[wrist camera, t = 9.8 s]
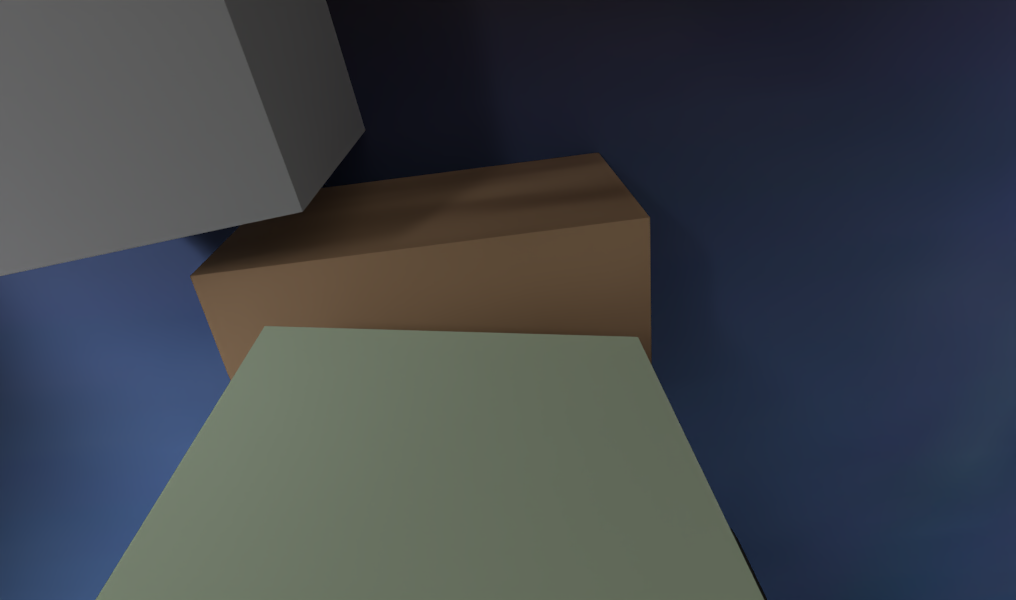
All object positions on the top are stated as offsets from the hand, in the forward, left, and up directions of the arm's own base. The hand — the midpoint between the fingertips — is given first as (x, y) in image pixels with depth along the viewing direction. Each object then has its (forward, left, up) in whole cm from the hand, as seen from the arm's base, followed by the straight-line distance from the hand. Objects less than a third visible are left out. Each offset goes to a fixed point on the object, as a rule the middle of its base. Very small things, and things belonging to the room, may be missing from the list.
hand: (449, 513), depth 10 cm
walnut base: (0, 0, -7) cm, 7 cm away
